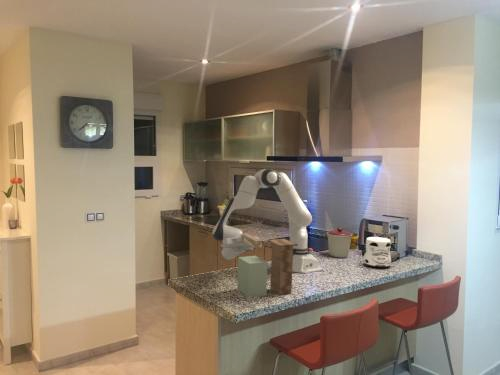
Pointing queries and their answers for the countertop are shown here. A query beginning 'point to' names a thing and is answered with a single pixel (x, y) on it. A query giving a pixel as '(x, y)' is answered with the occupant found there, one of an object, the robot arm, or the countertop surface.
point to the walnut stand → (281, 266)
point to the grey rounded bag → (394, 255)
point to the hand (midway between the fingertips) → (246, 237)
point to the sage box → (252, 276)
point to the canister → (339, 243)
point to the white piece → (377, 252)
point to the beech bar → (252, 241)
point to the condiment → (354, 241)
